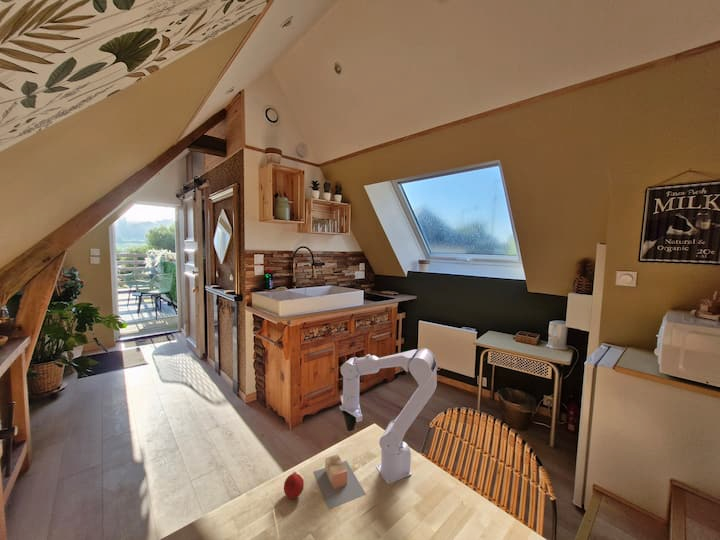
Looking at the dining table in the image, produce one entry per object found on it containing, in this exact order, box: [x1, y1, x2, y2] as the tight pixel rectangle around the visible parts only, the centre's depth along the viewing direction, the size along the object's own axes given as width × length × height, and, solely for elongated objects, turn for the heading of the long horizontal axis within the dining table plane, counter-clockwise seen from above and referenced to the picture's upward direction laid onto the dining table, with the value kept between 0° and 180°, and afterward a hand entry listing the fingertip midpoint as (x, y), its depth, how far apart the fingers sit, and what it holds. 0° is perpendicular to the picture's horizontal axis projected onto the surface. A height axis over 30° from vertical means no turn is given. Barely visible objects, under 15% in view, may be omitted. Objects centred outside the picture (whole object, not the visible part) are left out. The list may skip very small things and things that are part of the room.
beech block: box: [324, 453, 347, 489], centre depth 94 cm, size 4×4×8 cm
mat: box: [313, 460, 367, 510], centre depth 92 cm, size 12×15×1 cm
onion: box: [283, 471, 305, 500], centre depth 87 cm, size 6×6×8 cm
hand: (350, 429), depth 103 cm, fingers closed
